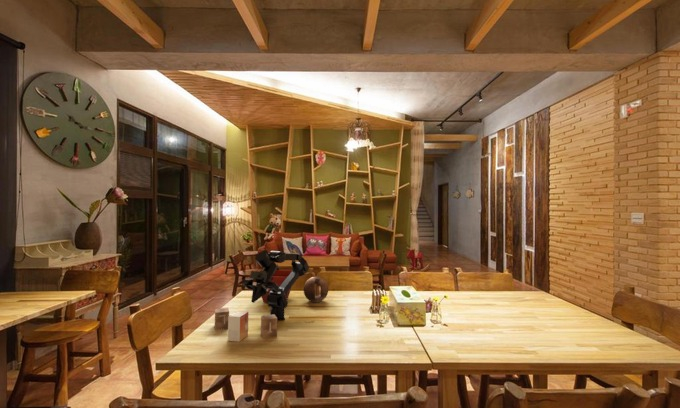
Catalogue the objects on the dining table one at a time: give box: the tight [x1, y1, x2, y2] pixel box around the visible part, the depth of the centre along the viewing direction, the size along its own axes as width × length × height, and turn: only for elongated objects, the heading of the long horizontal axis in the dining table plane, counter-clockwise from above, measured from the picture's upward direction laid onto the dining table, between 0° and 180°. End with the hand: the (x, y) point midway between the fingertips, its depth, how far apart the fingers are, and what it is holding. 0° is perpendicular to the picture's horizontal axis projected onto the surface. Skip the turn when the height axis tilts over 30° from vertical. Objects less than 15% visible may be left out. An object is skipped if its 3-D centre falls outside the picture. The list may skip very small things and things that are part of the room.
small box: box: [227, 310, 249, 343], centre depth 144 cm, size 8×6×10 cm
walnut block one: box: [260, 314, 278, 339], centre depth 147 cm, size 6×6×8 cm
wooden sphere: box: [303, 276, 329, 303], centre depth 201 cm, size 15×15×15 cm
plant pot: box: [261, 269, 292, 304], centre depth 202 cm, size 19×19×17 cm
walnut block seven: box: [214, 307, 230, 331], centre depth 156 cm, size 6×6×8 cm
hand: (252, 302), depth 152 cm, fingers closed
